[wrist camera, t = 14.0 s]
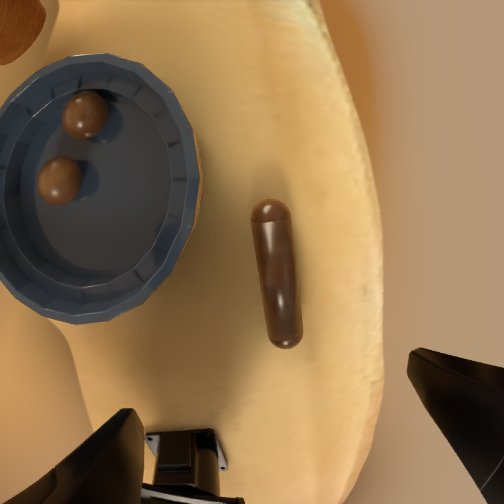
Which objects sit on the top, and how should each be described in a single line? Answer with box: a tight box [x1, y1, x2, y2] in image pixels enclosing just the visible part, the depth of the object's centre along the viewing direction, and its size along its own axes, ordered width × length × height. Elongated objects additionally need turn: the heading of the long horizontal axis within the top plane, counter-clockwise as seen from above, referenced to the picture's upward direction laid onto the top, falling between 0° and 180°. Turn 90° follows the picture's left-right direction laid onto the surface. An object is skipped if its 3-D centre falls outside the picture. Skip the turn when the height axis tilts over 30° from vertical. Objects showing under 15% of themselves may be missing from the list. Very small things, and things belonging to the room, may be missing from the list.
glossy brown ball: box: [37, 156, 82, 205], centre depth 15 cm, size 3×3×3 cm
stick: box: [251, 199, 303, 349], centre depth 19 cm, size 10×2×2 cm
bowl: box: [0, 53, 204, 325], centre depth 15 cm, size 15×15×4 cm
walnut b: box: [62, 91, 109, 139], centre depth 14 cm, size 3×3×3 cm
